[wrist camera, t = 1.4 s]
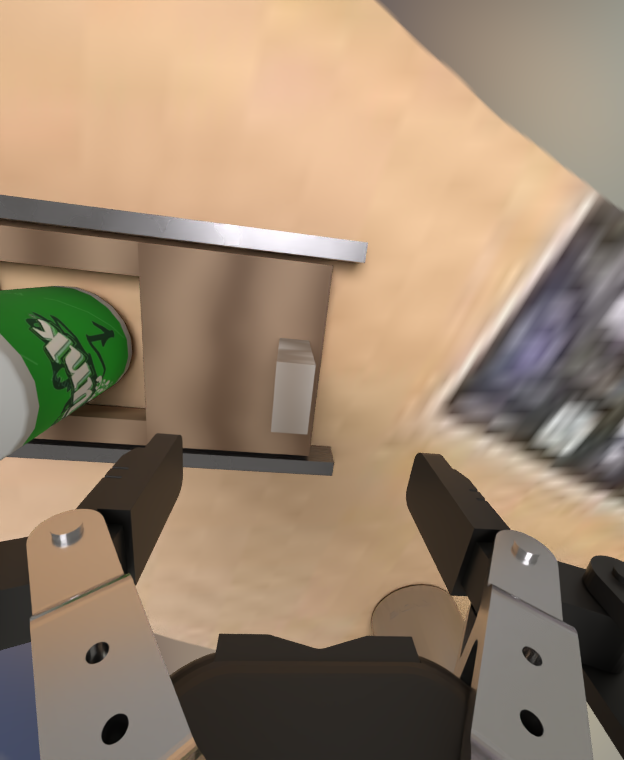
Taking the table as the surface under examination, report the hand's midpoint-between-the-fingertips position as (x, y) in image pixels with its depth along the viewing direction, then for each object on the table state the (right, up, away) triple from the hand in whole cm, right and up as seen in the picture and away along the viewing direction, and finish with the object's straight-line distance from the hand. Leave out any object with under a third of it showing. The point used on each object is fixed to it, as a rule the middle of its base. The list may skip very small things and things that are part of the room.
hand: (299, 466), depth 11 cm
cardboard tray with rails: (-12, +6, +13) cm, 19 cm away
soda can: (-16, +6, +13) cm, 21 cm away
